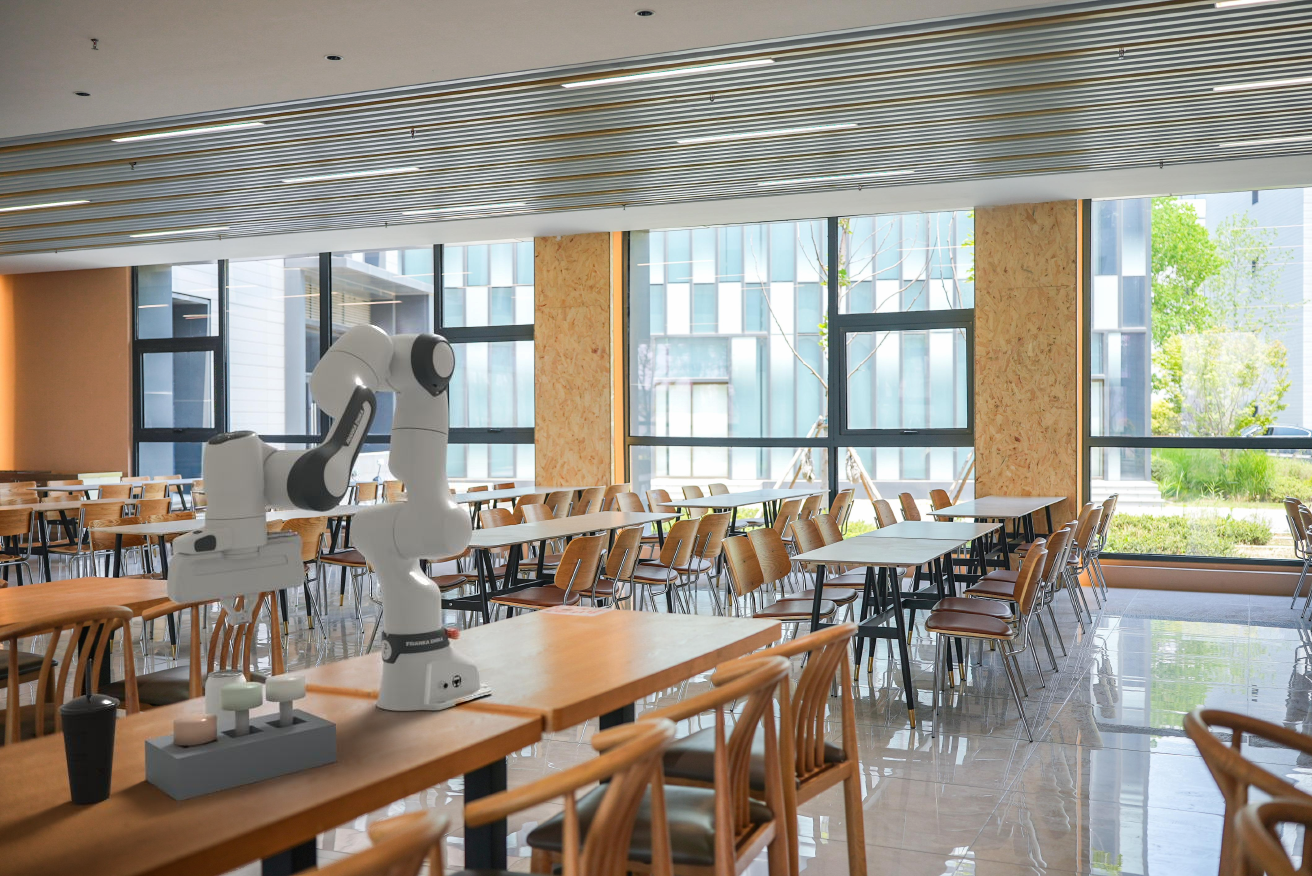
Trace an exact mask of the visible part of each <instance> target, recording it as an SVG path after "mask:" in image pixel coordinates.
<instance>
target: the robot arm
mask: <svg viewBox="0 0 1312 876" xmlns="http://www.w3.org/2000/svg"><path fill="white" fill-rule="evenodd" d="M455 367H456V355H455V353H454V350H453V347H452V346H451V344H450V342H449V341H448V340H447V338H445V337H444V336H442V335H439V334H437V333H436V334H435V333H430V332H429V333H428V332H424V333H423V332H422V333H420V334H419V333H417V334H416V333H400V334H398V333H397V334H394V335H388V334H387V332H385V330H383V329H382V328H380V327H378V326H376V325H373V324H371V323H360V324H356V325H354V326H352V327H351V328H349V329H348V330H347V331H346V332H344V333H343V334H342V335H341V336H340V337H339V338H338V339H337V340H336V341H335V342H334V343H332V345H331V346H330V347H329V348H328V350H327V351H326V352H325V354H324V355H323V356H322V357H321V358H320V360H319V361H318V363H317V364H316V366H315V367H314V369H313V370H312V372H311V375H310V377H309V382H308V383H309V384H308V387H309V393H310V396H311V398H312V399H313V401H314V402H315V405H316V406H317V407H318V408H319V409H320V410H321V411H323V412H324V413H325V414H326V415H327V416H329V417H331V418H332V419H334V420H333V422H332V425H331V426H330V428H329V431H328V432H327V435H326V436H325V439H324V440H323V442H322V443H321V444H319V445H316V446H314V447H311V448H307V449H288V450H286V449H281V450H280V449H279V448H277V447H274V446H272V445H269V444H268V443H266V442H265V441H263V440H262V439H261V438H260V437H259V435H258V433H257V432H256V431H252V430H235V431H231V432H230V431H228V432H222V433H219V434H217V435H214V436H212V437H211V438H209V439H208V441H207V442H206V444H205V447H204V452H203V459H202V460H203V461H202V484H203V485H202V487H203V493H204V496H205V498H206V499H205V500H206V510H205V512H204V513H205V514H204V526H203V525H202V526H200V527H199V528H196V529H193V530H191V531H188V532H186V533H184V534H182V535H181V534H180V535H179V536H177V537H175V538H174V539H173V540H172V543H171V544H172V545H171V546H172V549H173V550H174V551H175V552H177V553H176V554H174V555H173V556H171V559H170V561H169V563H168V568H167V570H168V571H167V583H166V586H167V587H166V588H167V589H166V592H167V597H168V599H169V600H170V601H172V603H174V604H176V605H177V604H178V605H185V604H191V603H198V602H199V603H200V602H205V601H206V602H207V601H211V600H212V601H213V600H218V599H220V605H221V607H222V608H223V609H224V610H225V612H226V613H227V614H228V623H229V625H230V626H233V627H234V626H239V625H245V624H251V623H252V622H253V612H254V610H255V608H256V606H257V604H258V603H259V599H260V598H259V593H264V592H265V593H266V592H271V591H272V592H273V591H279V590H280V591H281V590H287V589H292V588H298V587H299V588H301V586H302V585H303V584H304V583H305V580H306V573H305V563H304V560H303V555H302V553H303V552H302V551H303V539H302V537H301V535H300V534H299V533H298V532H295V531H293V530H292V529H285V530H282V531H267V530H268V529H267V528H268V527H267V512H266V511H267V510H271V509H275V510H276V509H277V510H278V509H279V510H305V511H311V512H320V513H325V512H329V511H331V510H333V509H334V508H336V507H337V506H338V505H339V504H340V503H341V502H342V500H343V499H344V498H345V496H346V494H347V492H348V491H349V487H350V484H351V483H350V482H351V477H352V472H353V469H354V466H355V464H356V463H357V460H358V457H359V455H360V453H361V451H362V448H363V446H364V443H365V441H366V439H367V436H368V435H369V432H370V429H371V427H372V425H373V423H374V419H375V416H376V415H377V408H378V407H377V406H378V405H377V404H378V403H377V397H376V396H375V393H379V392H380V393H381V392H383V393H394V394H395V397H396V404H395V409H394V413H393V417H392V425H391V433H390V443H389V444H390V445H389V454H388V462H387V465H388V466H387V467H388V470H389V472H390V474H391V475H392V477H394V479H396V480H397V481H399V482H400V483H401V484H403V486H404V487H405V490H406V497H407V501H406V502H381V503H376V504H371V505H368V506H367V505H366V506H364V507H361V508H360V509H358V510H357V512H355V514H354V515H353V517H352V520H351V522H350V527H349V536H350V541H351V543H352V545H353V547H354V548H355V550H356V551H357V552H358V553H359V554H361V555H362V556H363V557H364V558H365V560H367V562H368V563H369V565H370V566H371V569H372V571H373V572H374V574H375V577H376V579H377V582H378V585H379V588H380V593H381V601H382V619H383V621H382V622H383V624H382V625H383V630H382V631H381V634H380V635H381V641H380V644H381V659H382V674H381V681H380V688H379V691H378V692H379V693H378V695H377V696H378V697H377V701H376V704H375V705H376V706H377V708H380V709H382V710H383V709H384V710H388V711H399V712H400V711H403V712H404V711H406V712H407V711H440V710H443V709H448V708H451V707H454V706H456V705H455V704H456V702H457V701H458V700H461V699H465V698H469V697H472V696H476V695H481V694H485V693H489V692H491V691H493V690H492V688H491V686H489V685H487V684H485V683H483V682H482V683H481V678H480V673H479V669H478V666H477V664H476V663H475V662H474V661H473V660H472V659H471V658H470V657H468V656H467V655H465V654H464V653H462V652H461V651H459V650H458V649H456V648H455V647H454V646H452V645H451V642H450V640H449V639H452V640H453V641H455V640H458V639H459V637H460V636H461V632H460V630H459V629H456V628H449V629H447V628H445V627H443V626H442V593H441V590H440V587H439V585H438V584H437V583H436V582H435V581H434V580H432V579H431V578H429V577H428V576H427V575H426V574H425V573H424V571H423V569H422V568H421V565H420V563H419V560H441V559H447V558H452V557H455V556H461V554H463V553H464V552H465V551H466V549H467V548H468V547H469V545H470V542H471V539H472V537H473V524H472V520H471V518H470V516H469V514H468V513H467V511H466V510H465V509H464V508H463V507H462V506H461V505H460V504H459V503H458V502H457V501H456V499H455V497H454V496H453V493H452V491H451V489H450V485H449V482H448V477H447V455H448V441H449V440H448V439H449V423H450V420H449V419H450V414H449V402H448V401H449V400H448V395H447V391H446V390H447V387H448V386H449V383H450V382H451V379H452V377H453V374H454V371H455ZM266 509H267V510H266ZM239 596H244V600H245V601H246V604H245V606H244V608H243V610H241V611H236V609H235V608H234V606H233V605H232V604H235V603H236V600H235V598H236V597H239Z"/></svg>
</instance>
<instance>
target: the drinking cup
mask: <svg viewBox="0 0 1312 876" xmlns="http://www.w3.org/2000/svg"><path fill="white" fill-rule="evenodd" d="M92 689H93V687H92V659H91V658H90V659H89V658H88V659H85V690H86V691H85V693H86V694H85V695H81V696H78V697H75V698H72V699H70V700H68V701H67V702H66V703H64V704H61V705H59V706H58V709H57V710H58V713H59V714H60V717H61V727H62V734H63V741H64V750H65V758H66V766H67V775H68V783H69V791H70V798H71V799H70V800H71V803H72V804H73V805H81V806H83V805H91V804H96V803H100V802H102V801H105V800H107V799H109V798H110V796H111V790H112V789H111V787H112V778H113V777H112V775H113V762H114V750H115V736H116V726H117V725H116V723H117V713H118V706H119V705H120V700H119V699H118V698H117V697H116V698H115V697H112V696H109V695H106V694H98V693H97V694H96V693H93V692H92V691H93V690H92ZM108 797H109V798H108Z"/></svg>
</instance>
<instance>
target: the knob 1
mask: <svg viewBox="0 0 1312 876" xmlns="http://www.w3.org/2000/svg"><path fill="white" fill-rule="evenodd" d="M172 725H173V726H172V730H173V731H172V732H173V737H174V744H177V745H188V748H189V747H194V746H199V745H203V743H206V742H210V741H212V740H214V739H216V738H217V716H216V715H212V714H206V713H200V714H191V715H186V716H182V717H179V718H176V719H174V720H173V723H172Z"/></svg>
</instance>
